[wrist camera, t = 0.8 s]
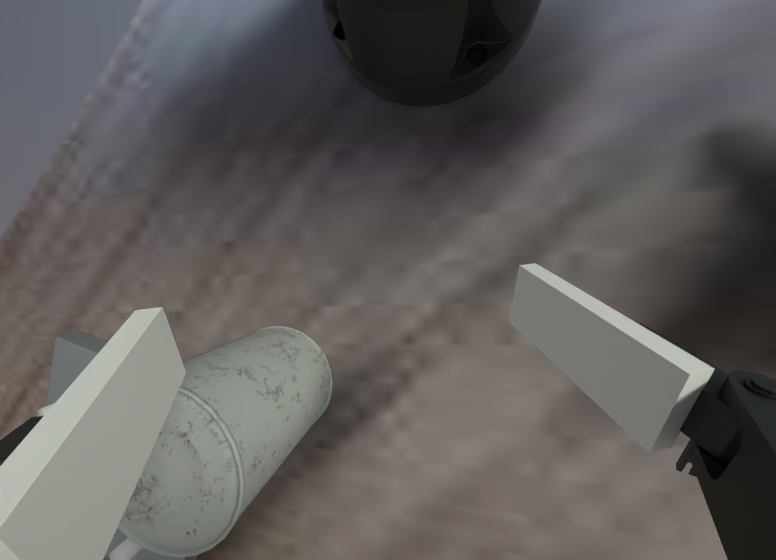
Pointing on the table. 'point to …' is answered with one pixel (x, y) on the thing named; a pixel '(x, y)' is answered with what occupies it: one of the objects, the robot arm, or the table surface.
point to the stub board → (66, 367)
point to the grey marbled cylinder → (226, 438)
